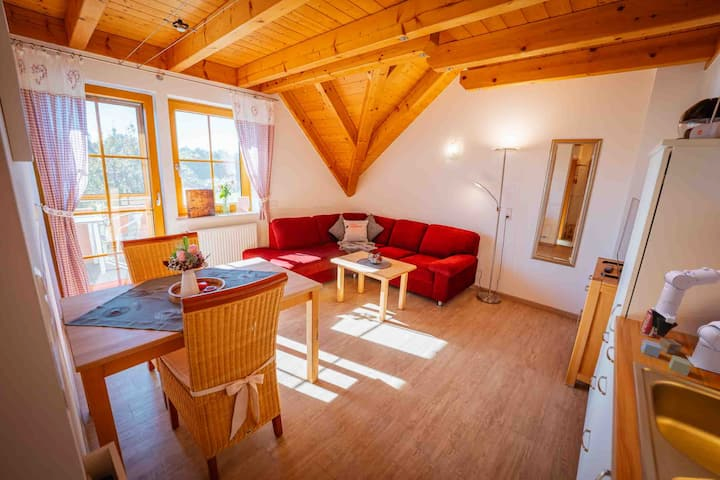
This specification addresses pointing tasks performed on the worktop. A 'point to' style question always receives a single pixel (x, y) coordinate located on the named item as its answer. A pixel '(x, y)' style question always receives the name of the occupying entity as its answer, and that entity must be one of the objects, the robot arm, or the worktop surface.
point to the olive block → (680, 365)
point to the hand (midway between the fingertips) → (657, 331)
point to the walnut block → (669, 346)
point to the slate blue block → (650, 348)
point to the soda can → (648, 325)
